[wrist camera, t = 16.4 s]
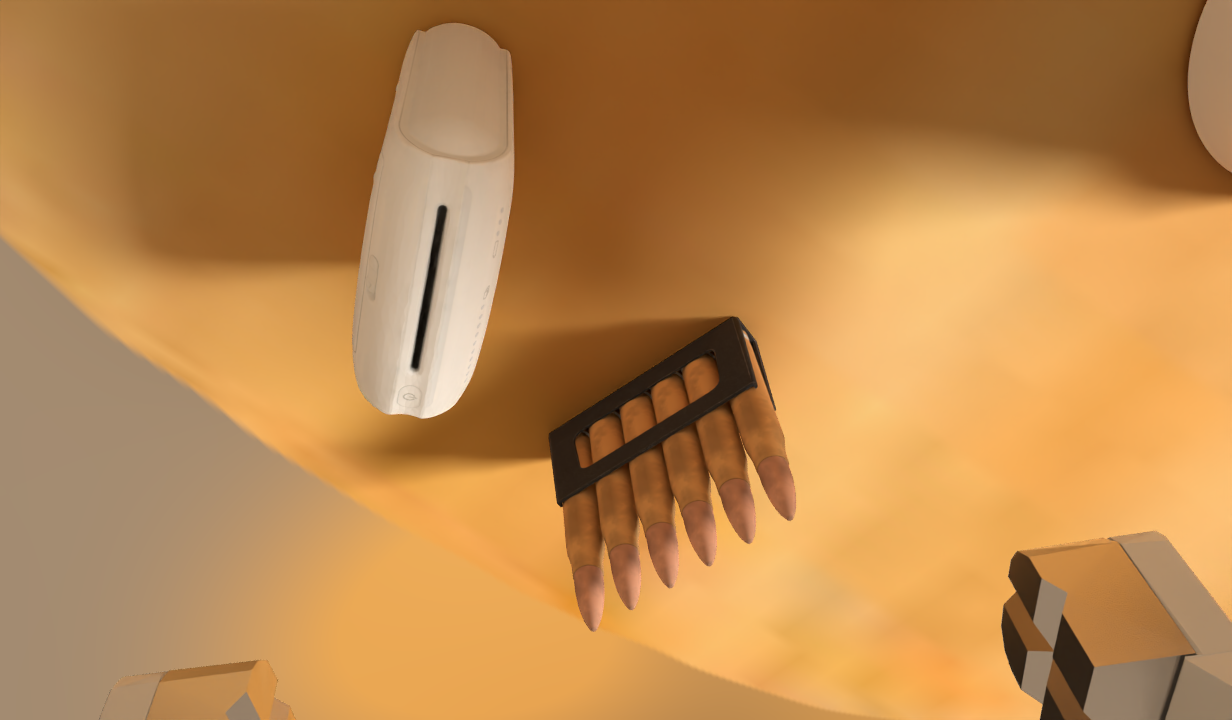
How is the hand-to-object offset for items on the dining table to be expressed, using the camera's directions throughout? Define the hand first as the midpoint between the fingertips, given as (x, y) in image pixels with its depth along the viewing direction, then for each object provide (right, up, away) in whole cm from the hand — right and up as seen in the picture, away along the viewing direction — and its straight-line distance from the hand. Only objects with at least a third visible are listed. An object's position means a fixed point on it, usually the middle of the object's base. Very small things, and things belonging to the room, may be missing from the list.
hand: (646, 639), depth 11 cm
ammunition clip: (+1, +2, +37) cm, 37 cm away
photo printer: (-7, +11, +29) cm, 32 cm away
